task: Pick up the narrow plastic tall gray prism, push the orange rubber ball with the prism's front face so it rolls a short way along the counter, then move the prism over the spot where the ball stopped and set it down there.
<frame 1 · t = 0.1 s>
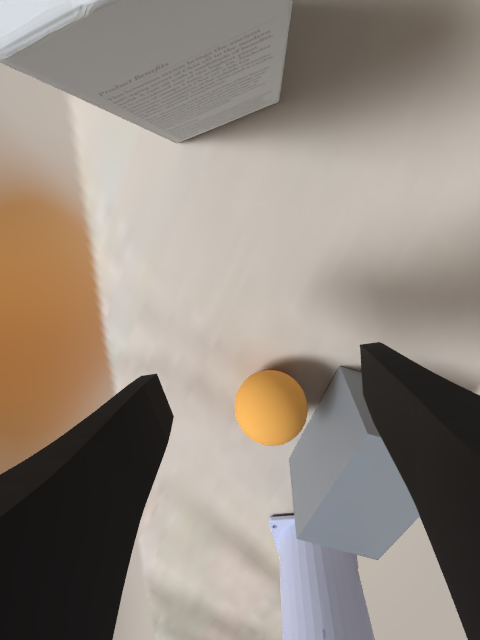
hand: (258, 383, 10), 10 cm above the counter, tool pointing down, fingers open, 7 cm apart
skincare box: (211, 80, 15), on the counter
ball: (270, 406, 20), on the counter
tall gray prism: (346, 426, 24), on the counter
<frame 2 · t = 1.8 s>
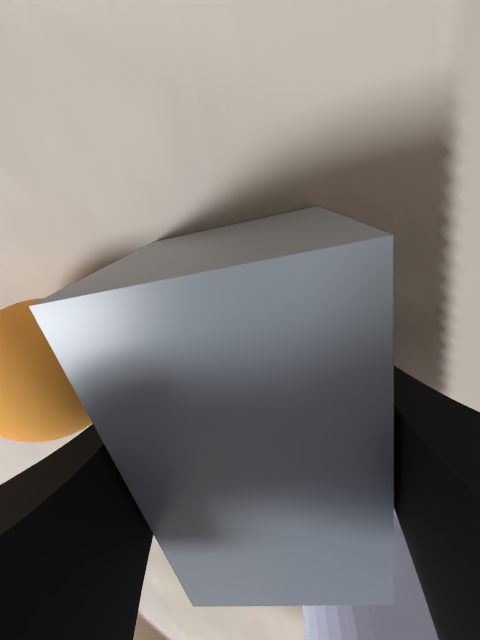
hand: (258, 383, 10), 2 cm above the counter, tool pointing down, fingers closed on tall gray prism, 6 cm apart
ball: (51, 367, 11), on the counter
tall gray prism: (259, 348, 12), on the counter, touching gripper
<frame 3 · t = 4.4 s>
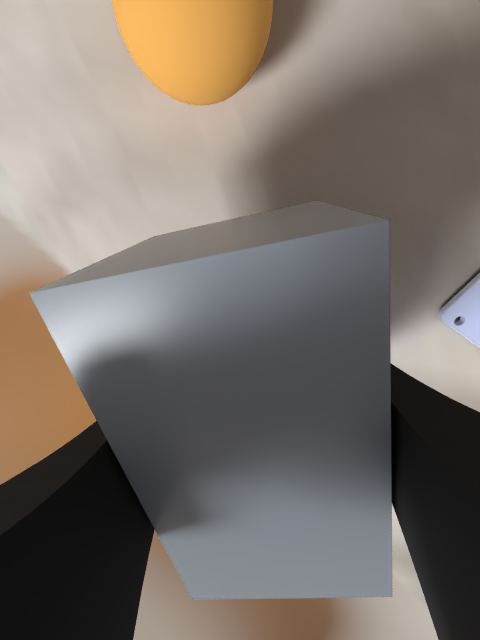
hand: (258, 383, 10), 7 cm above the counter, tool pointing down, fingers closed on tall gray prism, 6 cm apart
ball: (194, 8, 9), on the counter
tall gray prism: (258, 344, 12), point 4 cm above the counter, touching gripper
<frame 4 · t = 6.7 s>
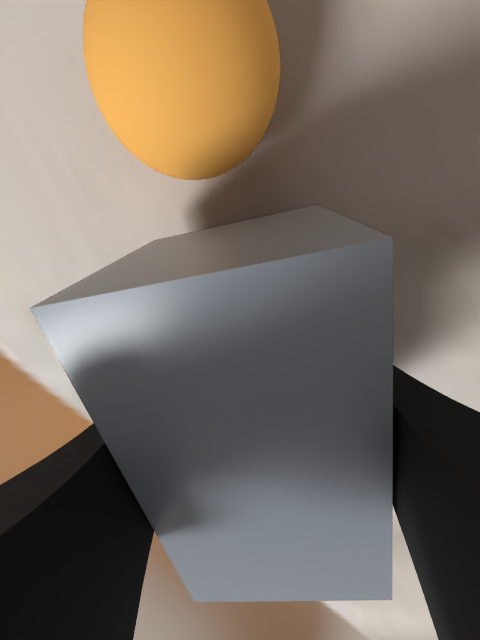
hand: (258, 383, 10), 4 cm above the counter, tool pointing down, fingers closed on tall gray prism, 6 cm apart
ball: (187, 77, 8), on the counter
tall gray prism: (259, 347, 12), point 1 cm above the counter, touching gripper
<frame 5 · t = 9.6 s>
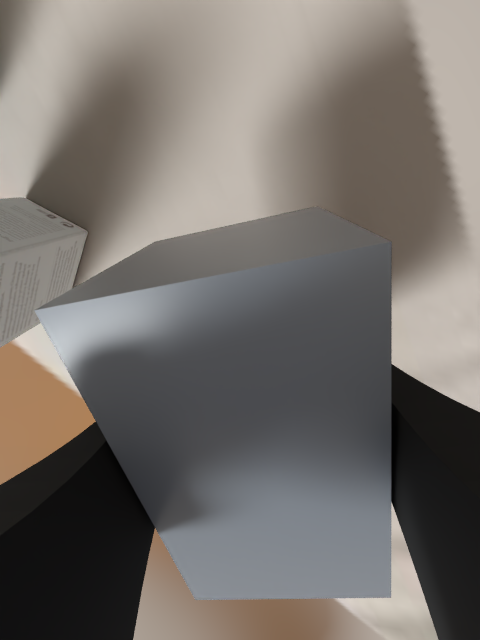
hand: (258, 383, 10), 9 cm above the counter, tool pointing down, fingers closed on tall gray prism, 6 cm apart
skincare box: (49, 256, 19), on the counter
tall gray prism: (259, 347, 13), point 7 cm above the counter, touching gripper
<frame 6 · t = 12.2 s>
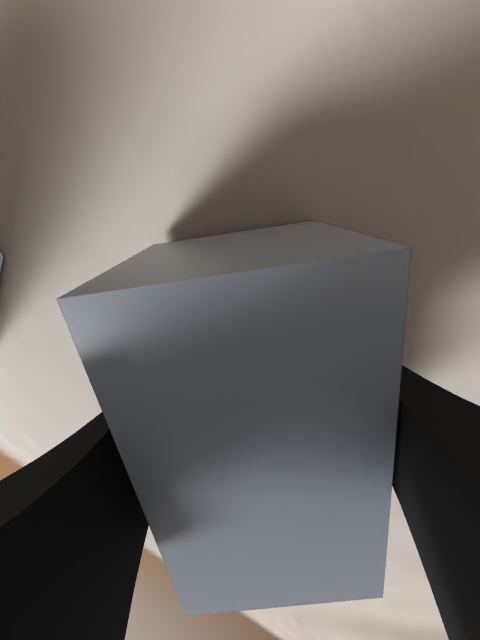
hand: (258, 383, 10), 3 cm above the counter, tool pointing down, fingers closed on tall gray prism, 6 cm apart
tall gray prism: (251, 354, 13), on the counter, tilted 6°, touching gripper
when the fingers open (3 cm above the counter, at t = 12.5 s): tall gray prism stays where it is, on the counter.
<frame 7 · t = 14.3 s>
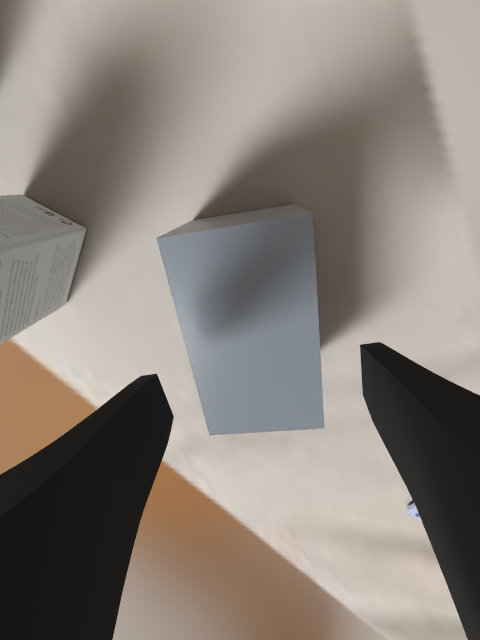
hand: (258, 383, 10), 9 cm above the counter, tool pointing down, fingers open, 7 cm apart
skincare box: (48, 253, 19), on the counter
tall gray prism: (255, 296, 19), on the counter
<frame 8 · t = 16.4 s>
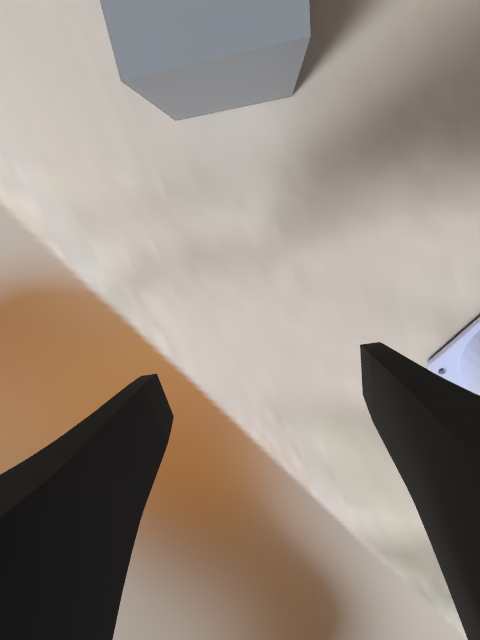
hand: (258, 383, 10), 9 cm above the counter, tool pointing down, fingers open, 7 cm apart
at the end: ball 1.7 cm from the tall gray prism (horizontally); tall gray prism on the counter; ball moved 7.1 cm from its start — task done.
